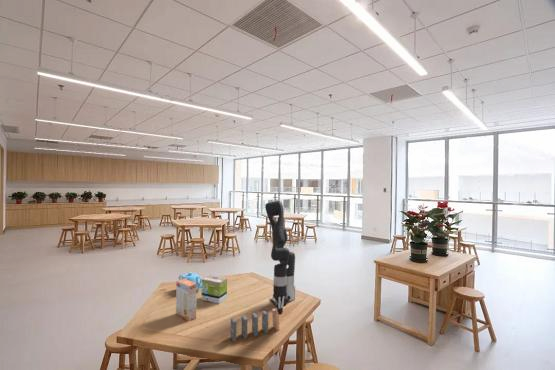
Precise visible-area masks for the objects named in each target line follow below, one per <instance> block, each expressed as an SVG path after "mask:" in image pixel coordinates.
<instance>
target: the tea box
mask: <svg viewBox="0 0 555 370" xmlns="http://www.w3.org/2000/svg"><path fill="white" fill-rule="evenodd" d="M201 285H202V288H201V300H202V301H207V302H211V303H214V304H221V303H222V302H223V301H225V300H227V298H228V278H227V277H222V276H218V275H217V276H215V275H208V276H206V277H204V278H202V282H201Z"/></svg>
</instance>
